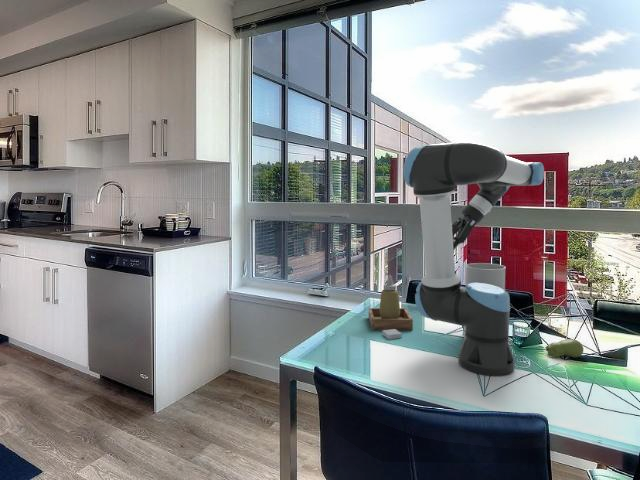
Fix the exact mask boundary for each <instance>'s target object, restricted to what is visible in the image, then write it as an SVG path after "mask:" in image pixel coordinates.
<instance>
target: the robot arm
mask: <svg viewBox="0 0 640 480" xmlns="http://www.w3.org/2000/svg"><path fill="white" fill-rule="evenodd" d="M402 173H403V179H404V182H405V183H406V185H407V186H408V187H410V188H412V189H413V196H414V197H416V198H417V199H418V200H419V209H420V219H421V220H420V221H421V234H422V244H423V257H424V269H425V275H424V276H423V277H422V278H421V282H419V283H418V285H417V287H416V288H415V289H416V290H415V291H416V293H414V294H415V295H414V300H415V306H416V309H417V311H418V312H419V314H420V315H421V316H422V317H424V318H426V319H430V320H432V321H437V322H438V321H439V322H444V323H448V324H452V325H458V326H462V327H464V335H465V337H464V339H463V342H462V344H461V347H460V349H459V352H458V358H457V359H458V361H457V362H458V364H459V366H461V367H462V368H463V369H465V370H467V371H469V372H472V373H475V374H479V375H484V376H492V377H493V376H495V377H496V376H499V377H500V376H506V375H509V374H511V373H513V372H514V371H515V359H514V355H513V352H512V349H511V346H510V343H509V335H510V330H509V329H510V314H511V313H510V312H511V305H510V304H511V303H510V301H511V300H510V299H511V298H510V294H509V292H508V291H507V290H506V289H505V290H504V289H502V288H500V287H497V286H494V285H490V284H485V283H469V284H468V285H467V286H466V285H465V286H462V280H461V276H460V275H458V274H457V273H456V268H455V267H456V266H455V254H454V253H455V252H454V251H455V250H456V249H457V248H458V246H459V245H461V244H464V243H465V241H466V240H467V238H468V237H469V235H470V233H471V232H472V230H473V228H474V227H475V226H476V225H477V224H479V223H480V222H481V221H482V220H483V219H484V218H485V215H488V213H491V211H492V209H493V208H494V206H495V205H496V204H497V202H499V200H500V199H501V198H502V197H503V196H504V195H505V194H506V193H507V192H508V190H509V188H510V187H517V186H518V187H519V186H522V187H523V186H524V187H525V186H529V187H531V186H539V185H541V184H543V181H544V178H545V167H544V164H543V163H542V162H541V161H540V162H539V161H538V162H533V161H531V162H526V161H521V160H519V159H516V158H513V157H510V156H507V155H505V153H504V152H503V151H502V150H500V149H499V148H497V147H493V146H490V145H487V144H483V143H478V142H472V141H456V142H447V143H438V144H436V143H434V144H425V145H421V146H416V147H414V148H412V149H411V150H409V152H408V153H407V156H406V158H405V160H404V164H403V172H402ZM472 184H473V185H474V184H476V185H477V186H478V187H479V190H478V192H477V193H476V194H475V195H474V196H473V197H472V198H471V200H470V201H469V202H468V204H467V205H466V206H465V207H464V208H463V209H462V210H461V214H462V215H463V217H458V218H457V219H456V220H455V222H454V223H452V221H453V220H452V208H451V196H452V195H453V194H454V192H456V186H466V185H472ZM454 235H455V236H454Z"/></svg>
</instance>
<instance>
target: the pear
mask: <svg viewBox="0 0 640 480" xmlns="http://www.w3.org/2000/svg"><path fill="white" fill-rule="evenodd" d="M545 350H546V351H547V353H548V354H549V356H550V357H552V358H559V357H561V356H567V357H571V358H579V357H581V356H582V355H583V354H584V346H583V345H582V342H580V341H578V340H577V339H571V338H569V339H563V340H560V341H558V342H551V343H549V344H548V345H546V347H545Z"/></svg>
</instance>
